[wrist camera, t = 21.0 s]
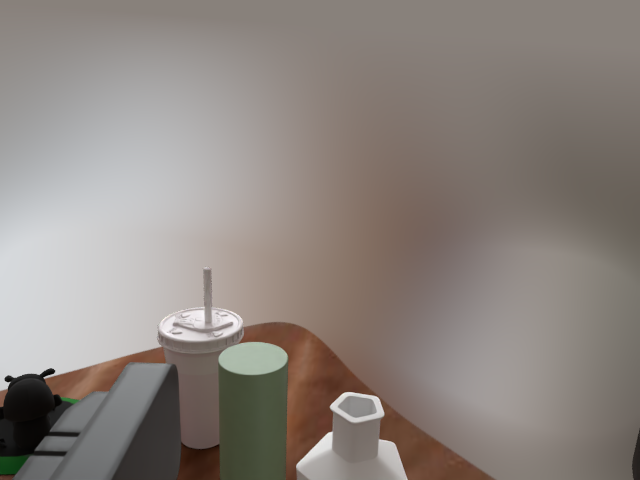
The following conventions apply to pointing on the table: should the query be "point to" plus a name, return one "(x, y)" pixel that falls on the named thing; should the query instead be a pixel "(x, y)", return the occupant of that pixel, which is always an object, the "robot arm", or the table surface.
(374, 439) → the perfume bottle
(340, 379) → the table surface
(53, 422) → the toy figurine
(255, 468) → the post
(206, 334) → the smoothie
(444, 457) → the table surface
